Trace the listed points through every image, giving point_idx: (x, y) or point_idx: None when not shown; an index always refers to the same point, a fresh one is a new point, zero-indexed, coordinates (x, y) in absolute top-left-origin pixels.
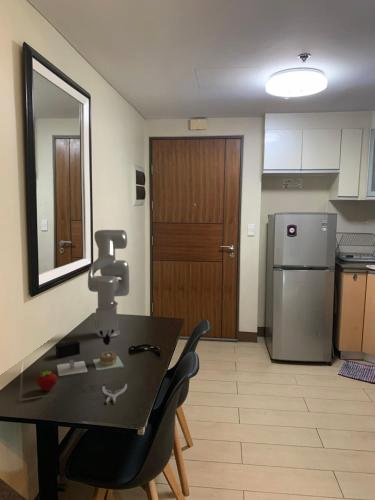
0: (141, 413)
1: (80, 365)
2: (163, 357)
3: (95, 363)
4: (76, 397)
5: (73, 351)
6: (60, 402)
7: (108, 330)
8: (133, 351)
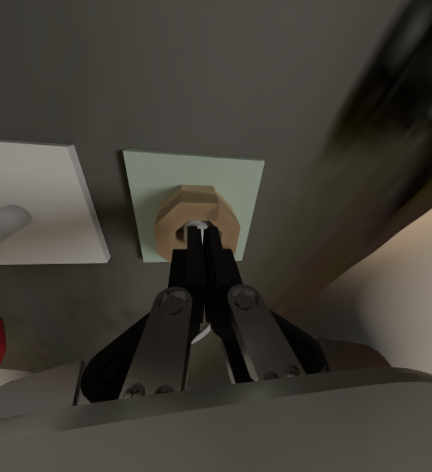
0: (205, 371)
1: (59, 202)
2: (393, 226)
3: (138, 206)
4: (95, 340)
5: None
6: (60, 347)
7: (252, 355)
8: (374, 100)
